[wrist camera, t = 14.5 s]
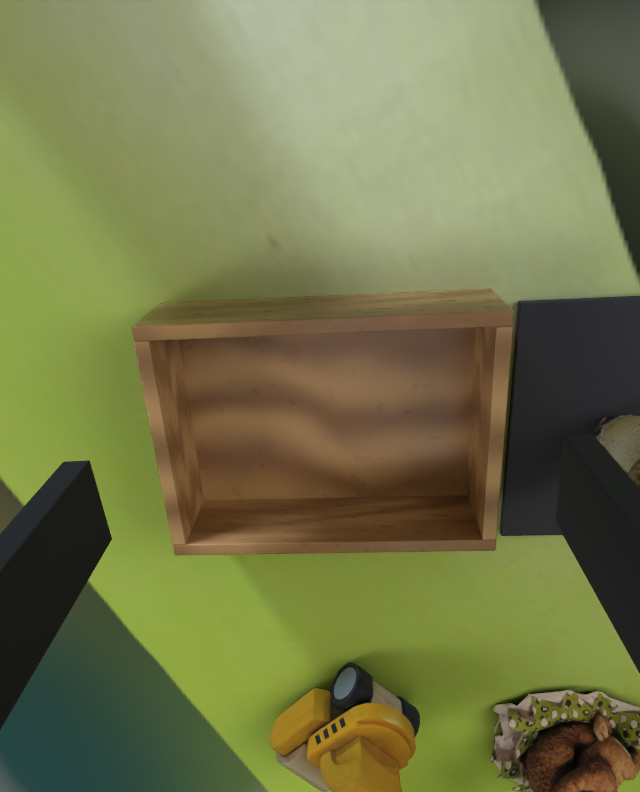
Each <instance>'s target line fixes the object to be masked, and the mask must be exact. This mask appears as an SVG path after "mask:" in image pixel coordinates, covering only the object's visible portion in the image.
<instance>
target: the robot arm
mask: <svg viewBox="0 0 640 792" xmlns="http://www.w3.org/2000/svg"><path fill="white" fill-rule="evenodd" d="M555 521H556V523H557V525H558V527H559V528H560V530H561V532H562V534H563V536H564V537H565V539H566V541H567V543H568V545H569V547H570V548H571V550H572V552H573V554H574V556H575V557H576V559H577V561H578V563H579V565H580V566H581V568H582V570H583V572H584V574H585V575H586V577H587V579H588V581H589V583H590V584H591V586H592V588H593V590H594V592H595V593H596V595H597V597H598V599H599V601H600V603H601V604H602V606H603V608H604V610H605V612H606V613H607V615H608V617H609V619H610V621H611V622H612V624H613V626H614V628H615V630H616V631H617V633H618V635H619V637H620V639H621V640H622V642H623V644H624V646H625V648H626V649H627V651H628V653H629V655H630V657H631V659H632V660H633V662H634V664H635V666H636V668H637V669H638V671H639V673H640V489H639V488H638V486H637V485H636V484H635V483H634V482H633V480H632V479H631V478H630V477H629V476H628V475H627V473H626V472H625V471H624V470H623V469H622V467H621V466H620V465H619V464H618V463H617V462H616V460H615V459H614V458H613V457H612V456H611V454H610V453H609V452H608V451H607V450H606V449H605V447H604V446H603V445H602V444H601V443H600V441H599V440H598V439H597V438H596V437H595V436H594V435H575V436H564V442H563V452H562V461H561V471H560V480H559V490H558V499H557V509H556V518H555ZM111 540H112V538H111V534H110V531H109V527H108V524H107V520H106V517H105V513H104V510H103V506H102V503H101V499H100V496H99V492H98V489H97V485H96V482H95V478H94V475H93V471H92V468H91V464H90V461H72V462H63V463H62V464H61V465H60V466H59V468H58V469H57V470H56V471H55V472H54V473H53V474H52V476H51V477H50V478H49V479H48V480H47V481H46V482H45V484H44V485H43V486H42V487H41V488H40V489H39V490H38V492H37V493H36V494H35V495H34V496H33V497H32V498H31V499H30V501H29V502H28V503H27V504H26V505H25V506H24V508H23V509H22V510H21V511H20V512H19V513H18V514H17V516H16V517H15V518H14V519H13V520H12V521H11V522H10V524H9V525H8V526H7V527H6V528H5V529H4V530H3V531H2V533H1V534H0V729H1V727H2V726H3V724H4V722H5V721H6V719H7V717H8V716H9V714H10V712H11V710H12V709H13V707H14V705H15V703H16V702H17V700H18V698H19V697H20V695H21V693H22V691H23V690H24V688H25V686H26V685H27V683H28V681H29V680H30V678H31V676H32V675H33V673H34V671H35V669H36V668H37V666H38V664H39V663H40V661H41V659H42V657H43V656H44V654H45V652H46V651H47V649H48V647H49V646H50V644H51V642H52V640H53V639H54V637H55V635H56V634H57V632H58V630H59V629H60V627H61V625H62V623H63V622H64V620H65V618H66V617H67V615H68V613H69V611H70V610H71V608H72V606H73V604H74V603H75V601H76V599H77V598H78V596H79V594H80V593H81V591H82V589H83V588H84V586H85V584H86V582H87V581H88V579H89V577H90V576H91V574H92V572H93V570H94V569H95V567H96V565H97V564H98V562H99V560H100V559H101V557H102V555H103V553H104V552H105V550H106V548H107V547H108V545H109V543H110V541H111Z"/></svg>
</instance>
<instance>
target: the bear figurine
mask: <svg viewBox="0 0 640 792" xmlns="http://www.w3.org/2000/svg"><path fill="white" fill-rule="evenodd" d="M572 689H574V688H572ZM582 690H583V689H582ZM590 691H594V690H590ZM493 711H495V712H496V713H498V714H499V721H498V722H497V724H495V734H496V731H497V727H498V724H499V722H501V726H502V730H503V736H500V735H498V736H495V741H496V743H495V746H494V750H493V754H492V755H493V756H492V759H491V762H492V761H493V760H494V762H495V764H496V765H497V767H498V769H499V774H498V777H497V778H503V779H504V780H506V779H513V780H515V781H517V782H518V783H519V784H520V785H519V786H516V787H514V788H512V790H515V791H519V792H529V791H533V792H617V789H618V788H619V785H620V784H621V783H622V781H624V780H633V779H634V778H635V777H636V775H637V773H638V772H639V771H640V750H638V749H636V748H635V747H636V746H639V745H640V707H637V706H634V705H631V704H628V703H624V702H621V701H618V700H615V699H612V698H609V697H608V696H607V695H606V694H605V693H604V692H600V691H598V692H593V693H590V694H587V695H584V694H578V693H575V692H573V691H572V690H565V691H558V692H548V693H538V694H528V696H527V697H526V698H525V699H524V700H523V701H522V702H521V703H520V704H519V705H518V706H516V705H514V704H512V703H508V704H499V705H496V706H495V707H494V709H493Z"/></svg>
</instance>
